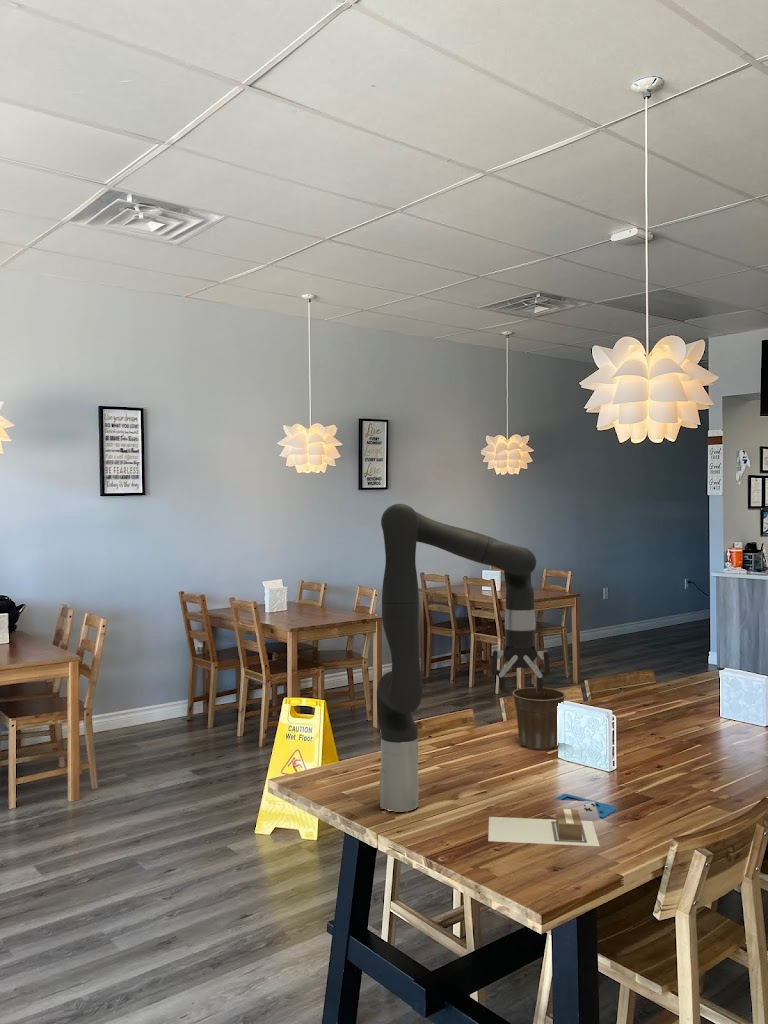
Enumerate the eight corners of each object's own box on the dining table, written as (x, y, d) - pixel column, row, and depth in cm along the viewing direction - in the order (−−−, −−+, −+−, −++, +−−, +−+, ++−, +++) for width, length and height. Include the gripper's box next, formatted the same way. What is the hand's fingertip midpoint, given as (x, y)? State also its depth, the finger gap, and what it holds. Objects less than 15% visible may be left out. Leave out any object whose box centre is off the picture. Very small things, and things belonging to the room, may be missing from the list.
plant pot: (570, 752, 245) (570, 699, 244) (516, 752, 245) (516, 699, 245) (560, 737, 261) (559, 686, 261) (509, 737, 261) (509, 687, 261)
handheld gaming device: (603, 816, 193) (547, 801, 203) (603, 820, 193) (547, 805, 203) (619, 806, 199) (564, 792, 209) (619, 810, 199) (564, 796, 209)
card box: (556, 823, 189) (555, 808, 189) (577, 824, 189) (577, 809, 189) (558, 839, 181) (558, 823, 181) (582, 840, 180) (581, 824, 180)
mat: (488, 843, 180) (488, 840, 180) (488, 818, 194) (488, 816, 194) (599, 848, 177) (599, 845, 177) (592, 823, 191) (592, 820, 191)
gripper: (548, 625, 206) (548, 689, 206) (491, 624, 208) (491, 688, 208) (550, 629, 198) (550, 696, 198) (491, 629, 200) (491, 694, 200)
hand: (520, 691), depth 203 cm, fingers open, 8 cm apart
